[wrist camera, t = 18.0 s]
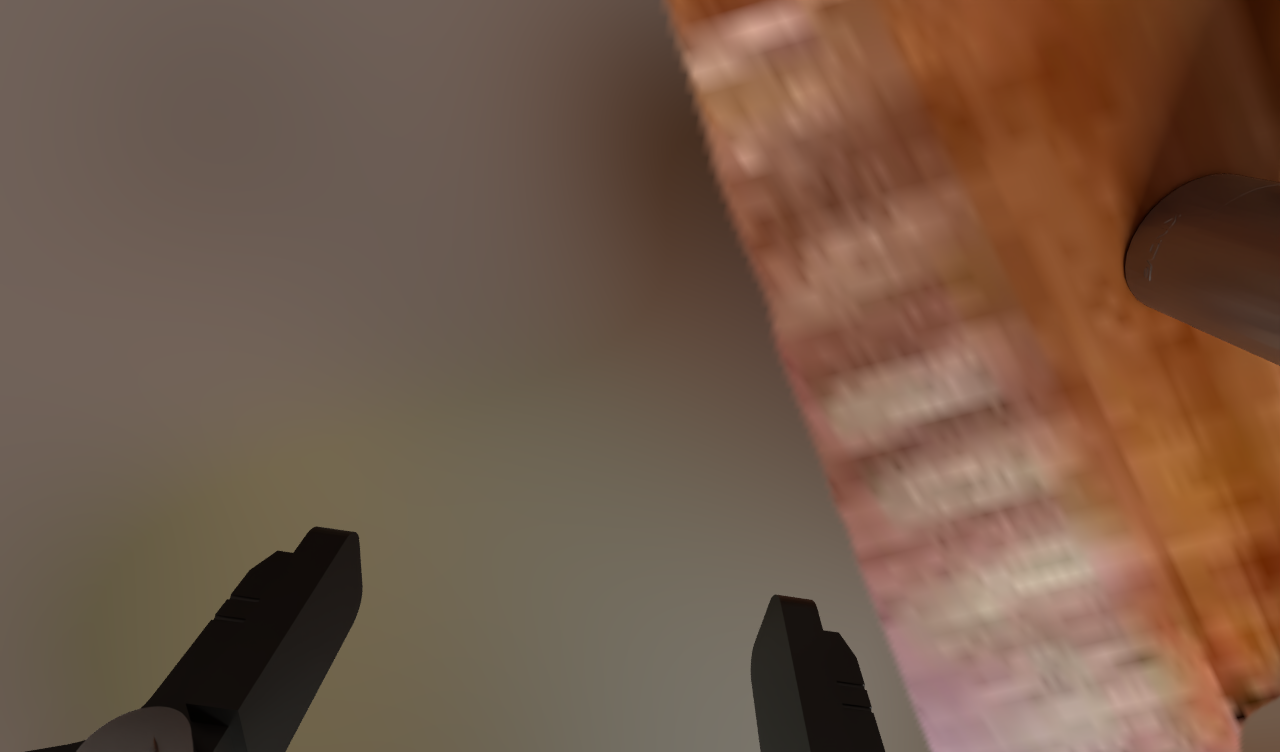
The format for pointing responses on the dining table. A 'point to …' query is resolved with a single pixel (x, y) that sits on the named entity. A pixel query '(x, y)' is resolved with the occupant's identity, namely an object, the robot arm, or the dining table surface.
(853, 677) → the robot arm
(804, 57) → the dining table surface
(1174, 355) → the dining table surface
